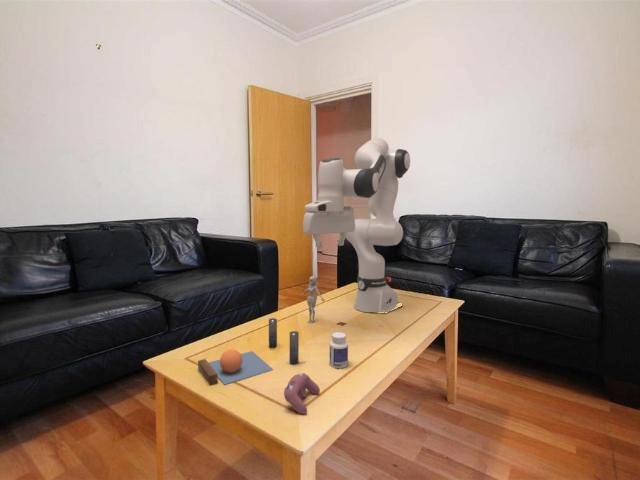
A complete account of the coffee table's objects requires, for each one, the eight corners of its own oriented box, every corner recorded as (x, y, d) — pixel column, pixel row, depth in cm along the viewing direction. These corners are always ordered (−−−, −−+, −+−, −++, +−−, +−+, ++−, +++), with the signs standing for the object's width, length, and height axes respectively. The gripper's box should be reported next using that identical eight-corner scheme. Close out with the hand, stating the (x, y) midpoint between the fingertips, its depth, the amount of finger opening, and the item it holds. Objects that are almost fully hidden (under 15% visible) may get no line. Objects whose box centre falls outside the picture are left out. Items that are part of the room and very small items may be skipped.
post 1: (274, 344, 112) (274, 317, 111) (278, 347, 110) (278, 320, 109) (267, 346, 111) (267, 319, 110) (271, 349, 109) (271, 321, 108)
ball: (216, 368, 95) (237, 364, 99) (223, 378, 90) (245, 373, 94) (217, 348, 95) (237, 344, 98) (224, 357, 90) (246, 352, 93)
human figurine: (297, 319, 136) (297, 274, 134) (304, 317, 138) (304, 273, 136) (320, 327, 128) (320, 279, 126) (326, 324, 130) (327, 278, 128)
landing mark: (252, 351, 107) (252, 350, 107) (273, 370, 96) (273, 369, 96) (206, 363, 99) (206, 362, 99) (224, 385, 87) (224, 384, 87)
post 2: (295, 359, 102) (295, 330, 101) (300, 363, 100) (300, 333, 99) (287, 362, 100) (287, 332, 99) (292, 365, 98) (292, 335, 97)
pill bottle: (351, 364, 99) (352, 335, 98) (339, 370, 96) (339, 340, 95) (337, 358, 103) (338, 329, 102) (325, 364, 99) (326, 334, 98)
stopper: (205, 367, 97) (205, 358, 96) (217, 383, 89) (217, 373, 88) (198, 369, 95) (198, 360, 95) (209, 385, 87) (209, 376, 87)
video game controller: (306, 395, 86) (295, 370, 86) (322, 391, 84) (310, 365, 85) (290, 419, 77) (277, 390, 77) (307, 415, 75) (294, 385, 76)
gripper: (348, 205, 126) (347, 243, 128) (300, 206, 114) (300, 247, 116) (359, 206, 121) (358, 245, 122) (311, 206, 109) (310, 249, 111)
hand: (329, 246), depth 119 cm, fingers open, 8 cm apart
